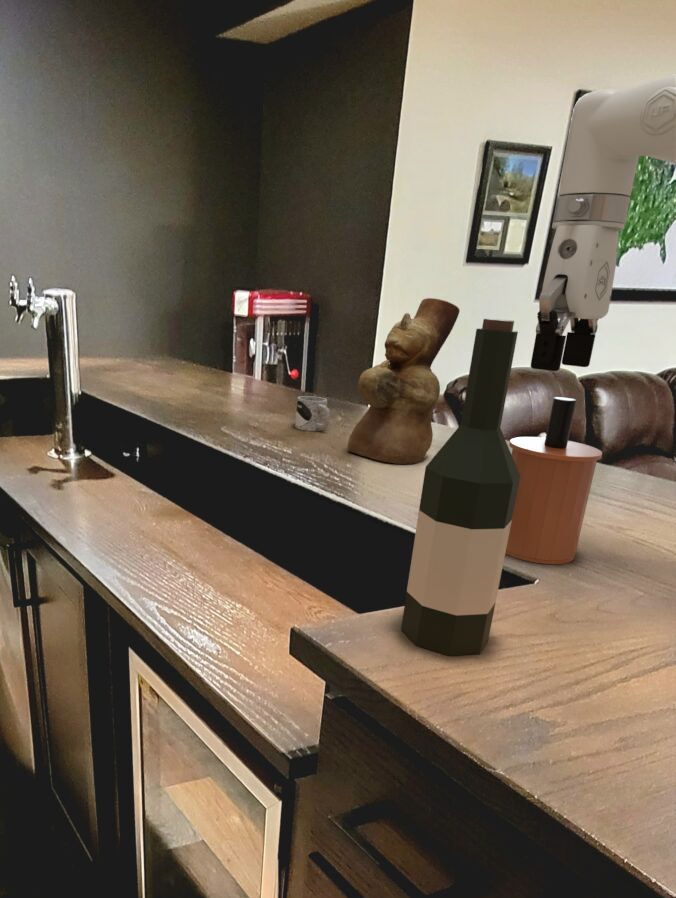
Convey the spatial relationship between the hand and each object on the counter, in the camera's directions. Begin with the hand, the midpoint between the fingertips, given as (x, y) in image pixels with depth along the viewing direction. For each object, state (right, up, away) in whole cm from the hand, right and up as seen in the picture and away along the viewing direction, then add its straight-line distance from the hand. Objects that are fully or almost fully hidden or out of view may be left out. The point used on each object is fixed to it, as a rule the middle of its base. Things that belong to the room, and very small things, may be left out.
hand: (560, 367), depth 87 cm
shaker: (0, -22, +8) cm, 24 cm away
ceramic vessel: (-6, -6, +57) cm, 58 cm away
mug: (-21, +1, +75) cm, 78 cm away
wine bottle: (-19, -30, -16) cm, 39 cm away
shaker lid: (+1, -10, +4) cm, 11 cm away
